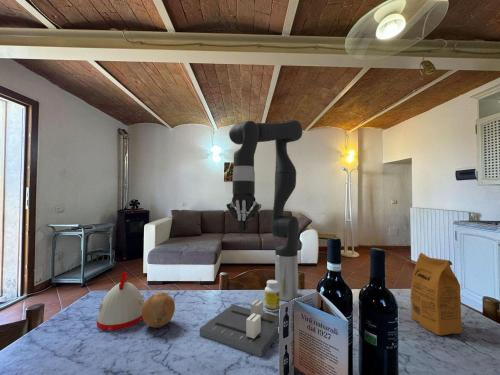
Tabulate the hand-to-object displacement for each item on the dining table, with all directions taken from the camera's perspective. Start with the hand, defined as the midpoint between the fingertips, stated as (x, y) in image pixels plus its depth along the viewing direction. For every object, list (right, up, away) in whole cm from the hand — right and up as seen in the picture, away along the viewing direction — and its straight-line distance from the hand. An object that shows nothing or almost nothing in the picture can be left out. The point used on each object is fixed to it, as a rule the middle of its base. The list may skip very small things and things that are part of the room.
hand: (243, 231), depth 77 cm
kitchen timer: (-40, -29, -1) cm, 50 cm away
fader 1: (+4, -26, -4) cm, 27 cm away
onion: (-27, -29, -5) cm, 40 cm away
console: (+1, -29, -7) cm, 29 cm away
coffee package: (+61, -29, -4) cm, 68 cm away
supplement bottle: (+10, -30, +7) cm, 32 cm away
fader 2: (+3, -26, -13) cm, 29 cm away
